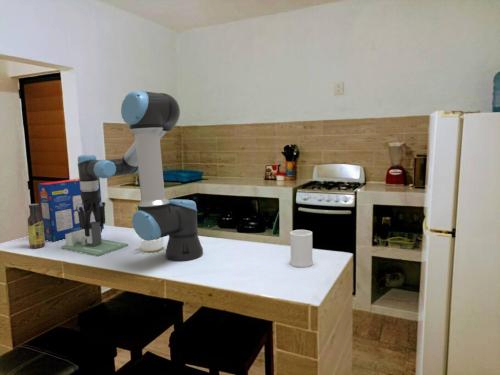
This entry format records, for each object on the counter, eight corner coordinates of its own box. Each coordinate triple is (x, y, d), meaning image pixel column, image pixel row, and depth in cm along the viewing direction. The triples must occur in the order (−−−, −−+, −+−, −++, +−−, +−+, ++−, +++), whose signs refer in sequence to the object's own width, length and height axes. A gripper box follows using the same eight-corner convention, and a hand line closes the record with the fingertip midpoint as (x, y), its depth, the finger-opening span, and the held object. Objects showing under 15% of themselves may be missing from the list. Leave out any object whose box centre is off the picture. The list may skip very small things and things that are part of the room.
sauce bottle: (39, 249, 168) (34, 205, 165) (26, 248, 169) (21, 205, 166) (48, 244, 175) (44, 203, 172) (36, 244, 176) (32, 203, 173)
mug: (300, 256, 149) (299, 226, 147) (320, 259, 144) (320, 229, 142) (286, 265, 139) (285, 233, 137) (307, 269, 134) (306, 236, 132)
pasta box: (94, 227, 206) (90, 177, 202) (103, 228, 202) (99, 177, 198) (44, 240, 183) (38, 183, 179) (53, 242, 179) (47, 184, 175)
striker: (103, 243, 170) (101, 221, 168) (92, 246, 165) (90, 224, 163) (92, 241, 173) (90, 220, 172) (81, 244, 168) (79, 223, 167)
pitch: (128, 245, 169) (127, 233, 168) (98, 256, 155) (96, 242, 154) (92, 239, 182) (91, 227, 181) (61, 248, 168) (59, 235, 167)
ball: (83, 232, 175) (82, 240, 175) (75, 234, 171) (75, 242, 172) (88, 234, 173) (88, 242, 174) (80, 237, 169) (80, 245, 170)
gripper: (100, 187, 174) (104, 236, 177) (66, 192, 159) (72, 245, 163) (111, 187, 170) (115, 237, 173) (77, 193, 155) (83, 247, 159)
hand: (94, 241), depth 168 cm, fingers closed on striker, 4 cm apart
